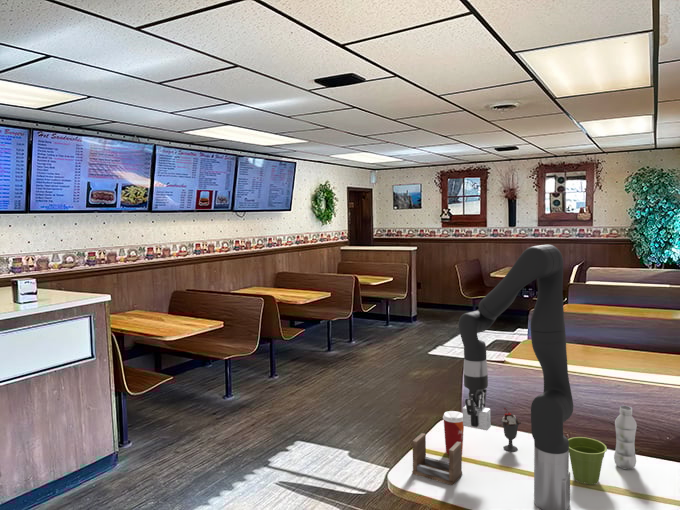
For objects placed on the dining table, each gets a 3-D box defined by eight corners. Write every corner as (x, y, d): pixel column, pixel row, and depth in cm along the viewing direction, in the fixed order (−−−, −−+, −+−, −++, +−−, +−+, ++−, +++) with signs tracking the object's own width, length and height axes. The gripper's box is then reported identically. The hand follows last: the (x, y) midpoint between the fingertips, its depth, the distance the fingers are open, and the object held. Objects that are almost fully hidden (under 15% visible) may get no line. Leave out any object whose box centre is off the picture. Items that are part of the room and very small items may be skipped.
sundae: (496, 447, 188) (496, 406, 186) (510, 443, 190) (511, 403, 189) (509, 454, 182) (509, 413, 180) (524, 450, 185) (524, 409, 183)
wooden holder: (462, 474, 169) (462, 441, 168) (452, 485, 163) (452, 451, 162) (422, 463, 177) (422, 432, 176) (412, 473, 170) (411, 441, 170)
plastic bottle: (613, 469, 170) (614, 410, 168) (613, 460, 176) (614, 402, 174) (636, 473, 167) (637, 413, 165) (635, 464, 173) (637, 405, 171)
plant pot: (574, 466, 172) (575, 433, 171) (612, 479, 164) (613, 444, 163) (558, 479, 165) (558, 445, 164) (597, 493, 156) (597, 457, 155)
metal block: (490, 426, 169) (490, 408, 169) (487, 430, 166) (486, 412, 166) (467, 422, 174) (466, 404, 174) (463, 425, 171) (462, 408, 171)
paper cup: (465, 458, 180) (465, 419, 179) (442, 457, 181) (442, 418, 180) (464, 448, 187) (464, 410, 186) (443, 447, 189) (442, 409, 188)
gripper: (479, 380, 161) (480, 434, 162) (494, 368, 173) (495, 418, 174) (456, 376, 165) (457, 429, 166) (472, 365, 177) (473, 414, 178)
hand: (476, 423), depth 170 cm, fingers closed on metal block, 3 cm apart
